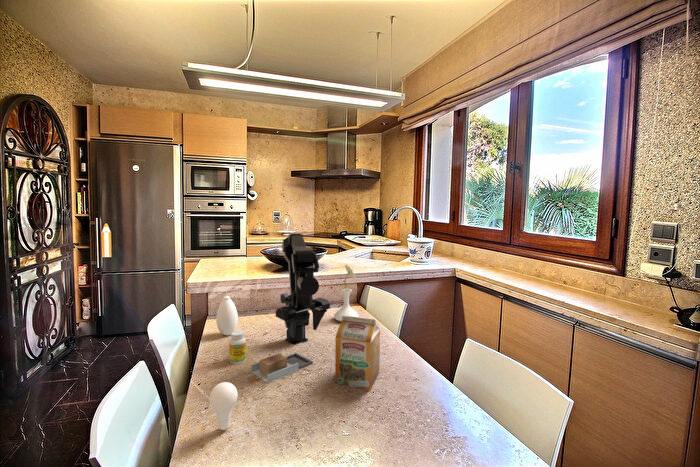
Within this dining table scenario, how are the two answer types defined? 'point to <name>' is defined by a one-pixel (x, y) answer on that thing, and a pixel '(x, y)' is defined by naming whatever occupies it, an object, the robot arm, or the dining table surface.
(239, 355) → the supplement bottle
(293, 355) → the dark gray shallow tray
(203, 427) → the dining table surface
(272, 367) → the block
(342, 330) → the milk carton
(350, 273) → the flower in vase
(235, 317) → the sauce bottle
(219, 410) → the lightbulb
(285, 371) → the grey bracket
